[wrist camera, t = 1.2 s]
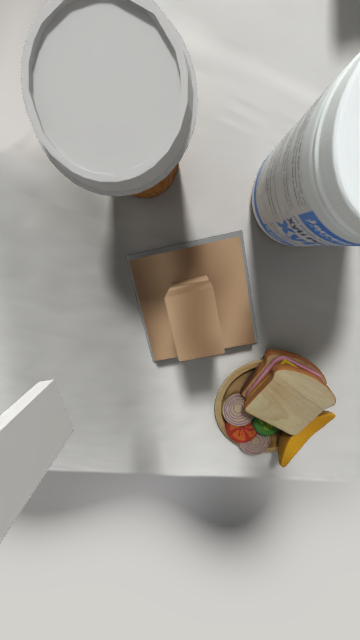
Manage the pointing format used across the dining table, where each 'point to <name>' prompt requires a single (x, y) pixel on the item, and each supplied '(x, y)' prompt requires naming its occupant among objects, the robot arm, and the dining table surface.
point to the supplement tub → (316, 172)
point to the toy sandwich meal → (274, 404)
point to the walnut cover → (194, 300)
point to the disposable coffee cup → (110, 93)
